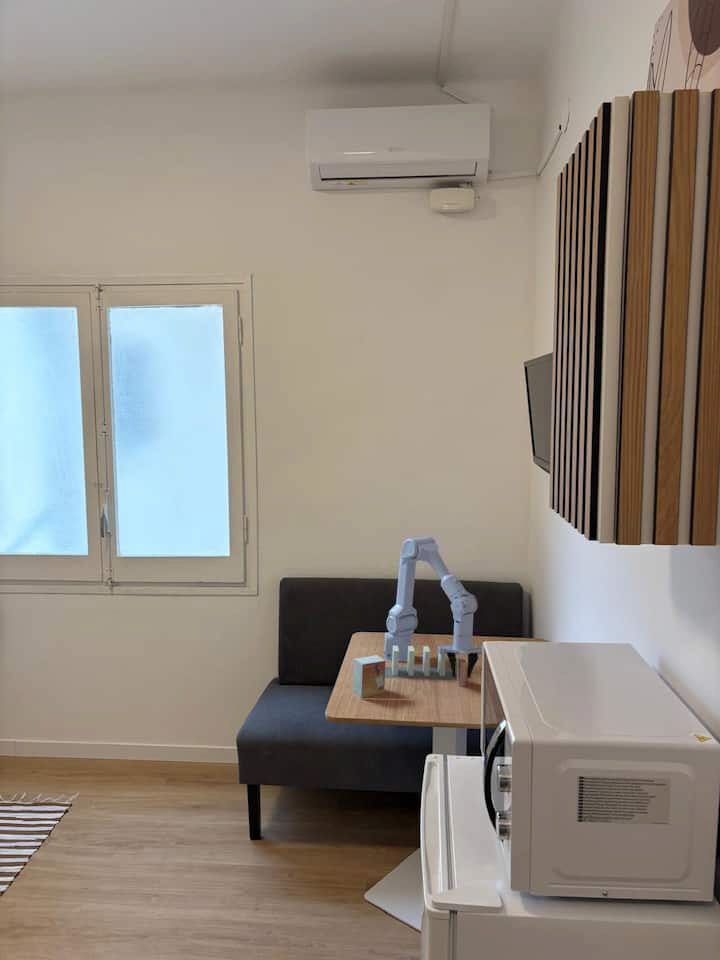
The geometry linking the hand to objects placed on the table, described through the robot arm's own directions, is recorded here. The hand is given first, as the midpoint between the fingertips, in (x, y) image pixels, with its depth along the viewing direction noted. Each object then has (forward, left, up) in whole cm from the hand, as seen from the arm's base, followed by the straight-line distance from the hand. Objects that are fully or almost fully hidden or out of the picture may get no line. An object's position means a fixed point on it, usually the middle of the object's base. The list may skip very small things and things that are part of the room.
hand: (461, 676), depth 212 cm
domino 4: (-5, +8, -2) cm, 10 cm away
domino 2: (-15, +8, -2) cm, 17 cm away
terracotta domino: (0, 0, -3) cm, 3 cm away
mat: (-11, +8, -3) cm, 14 cm away
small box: (-29, -8, -3) cm, 30 cm away
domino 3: (-10, +8, -2) cm, 13 cm away
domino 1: (-20, +8, -2) cm, 22 cm away
